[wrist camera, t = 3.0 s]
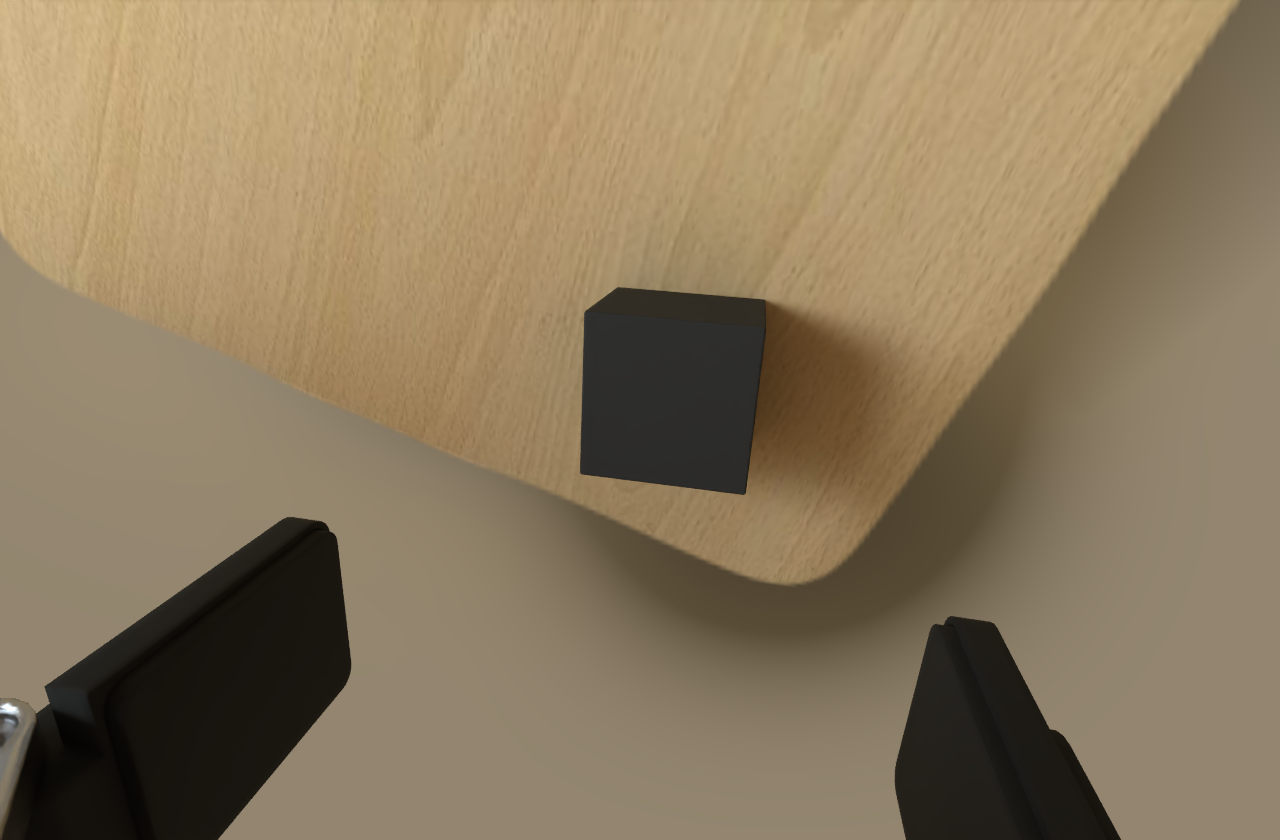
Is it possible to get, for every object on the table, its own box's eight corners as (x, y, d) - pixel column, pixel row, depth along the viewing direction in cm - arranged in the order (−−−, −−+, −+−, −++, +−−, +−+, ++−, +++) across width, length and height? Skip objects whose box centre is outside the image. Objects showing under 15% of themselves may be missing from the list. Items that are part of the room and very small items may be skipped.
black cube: (610, 424, 24) (579, 474, 20) (617, 286, 23) (584, 310, 18) (748, 440, 24) (745, 495, 19) (765, 299, 22) (766, 327, 18)
